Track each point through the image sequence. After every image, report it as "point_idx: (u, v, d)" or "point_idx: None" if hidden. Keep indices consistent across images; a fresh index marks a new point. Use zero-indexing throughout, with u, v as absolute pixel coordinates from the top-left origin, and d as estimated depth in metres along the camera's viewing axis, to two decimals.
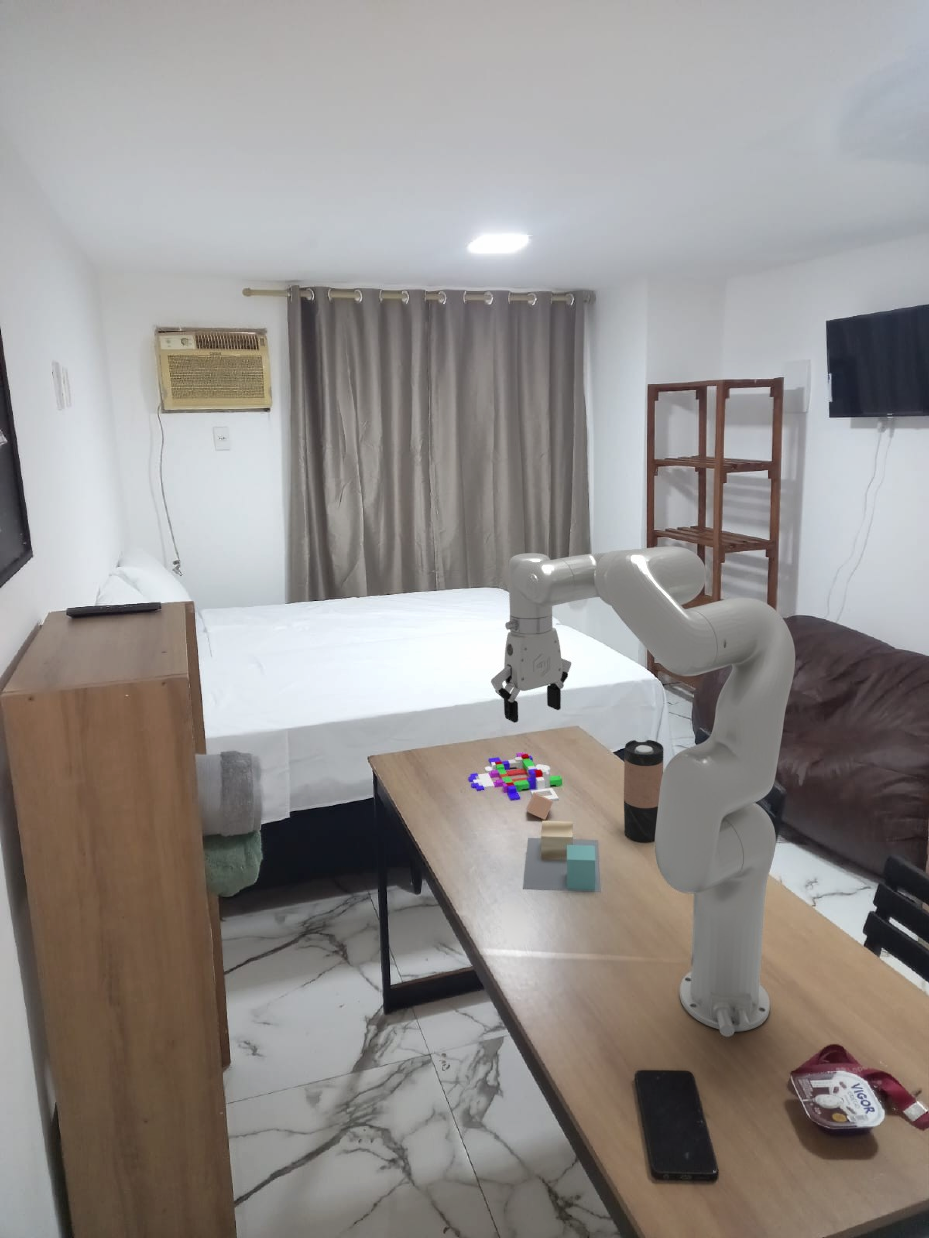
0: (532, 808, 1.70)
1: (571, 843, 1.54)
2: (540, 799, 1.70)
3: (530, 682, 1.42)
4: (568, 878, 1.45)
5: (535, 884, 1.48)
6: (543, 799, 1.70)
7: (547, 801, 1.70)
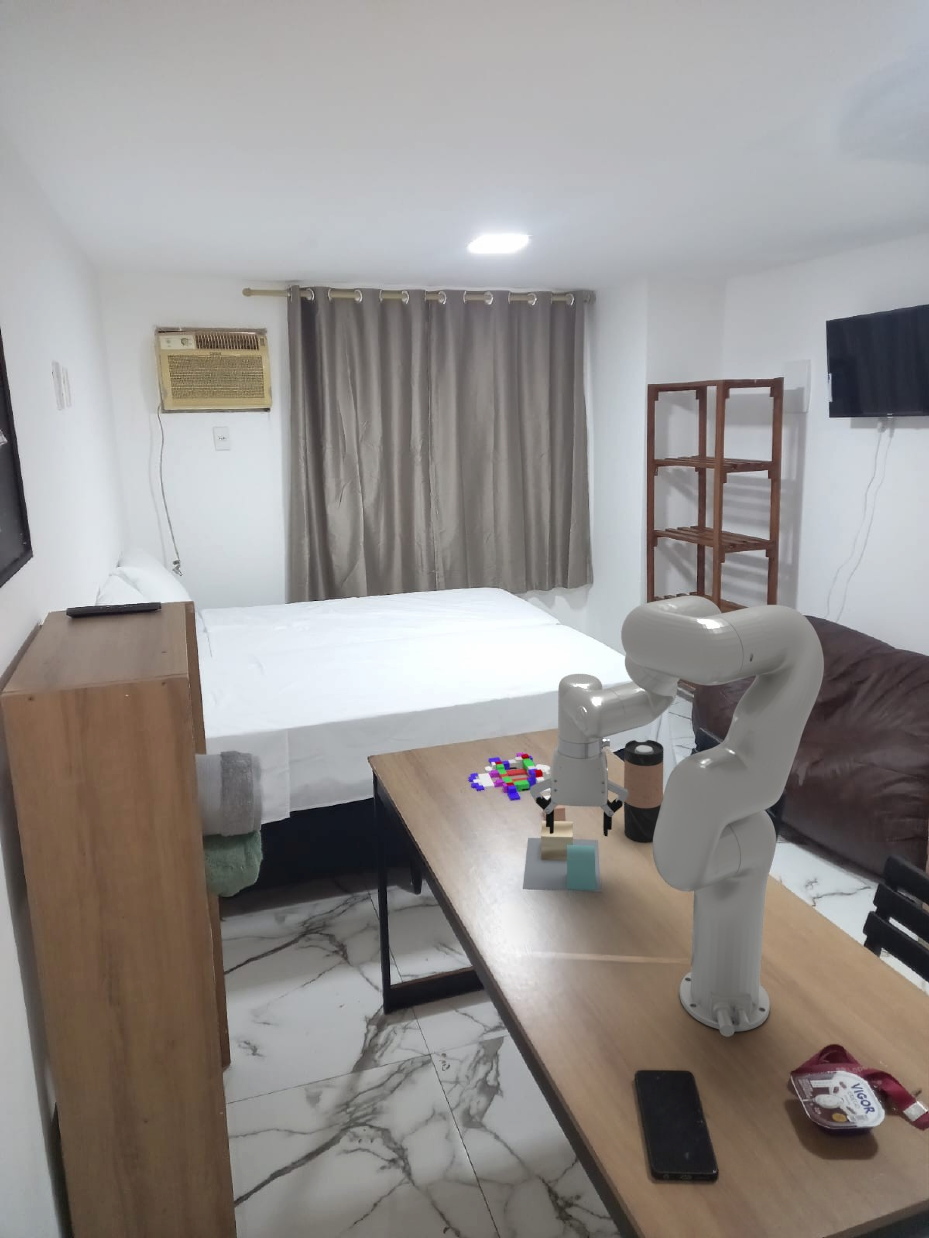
0: None
1: (571, 843, 1.54)
2: (562, 813, 1.70)
3: None
4: (568, 878, 1.45)
5: (535, 884, 1.48)
6: (563, 816, 1.70)
7: (563, 820, 1.70)
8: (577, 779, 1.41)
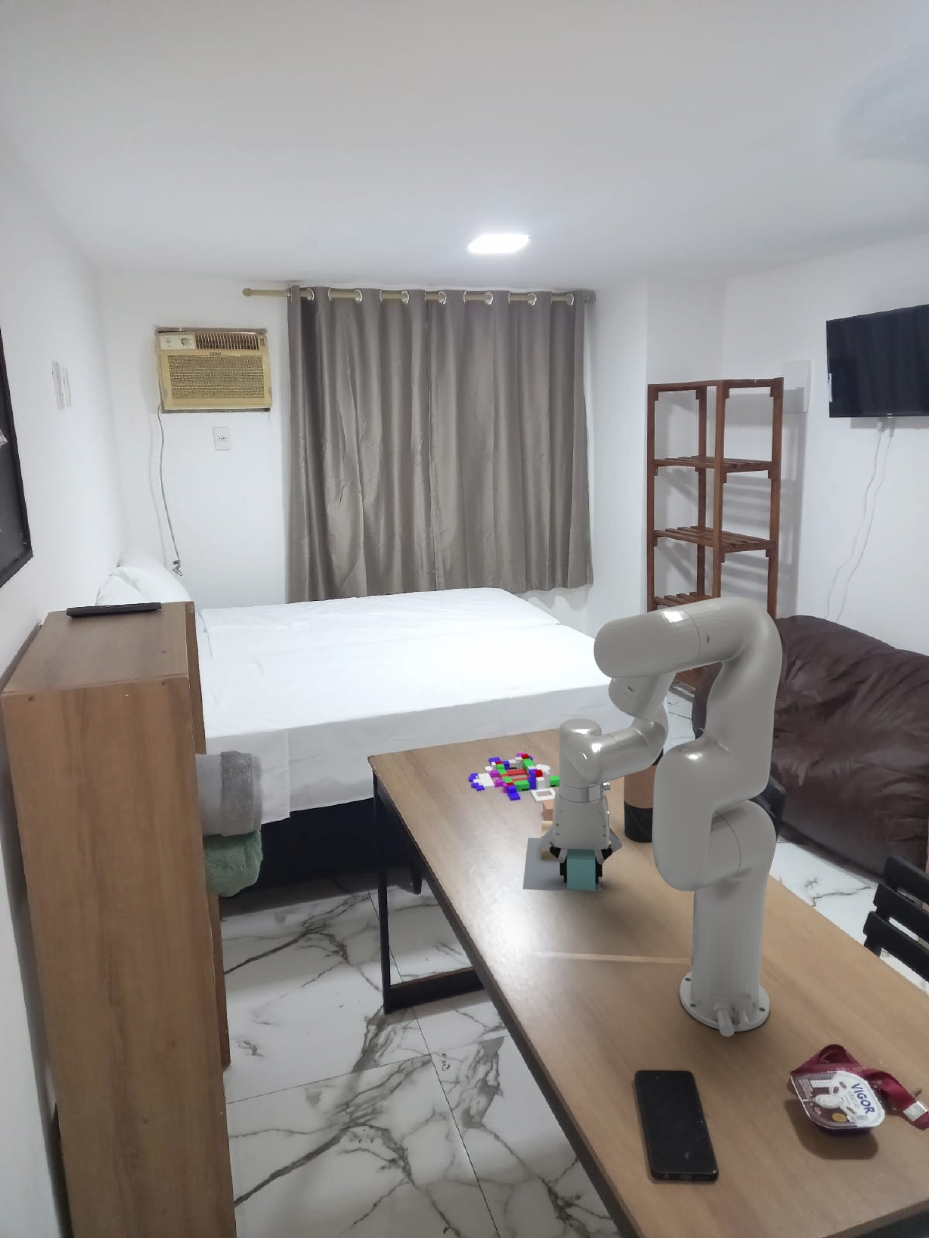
0: (551, 812, 1.69)
1: None
2: None
3: None
4: (568, 878, 1.45)
5: (535, 884, 1.48)
6: None
7: None
8: (578, 823, 1.42)
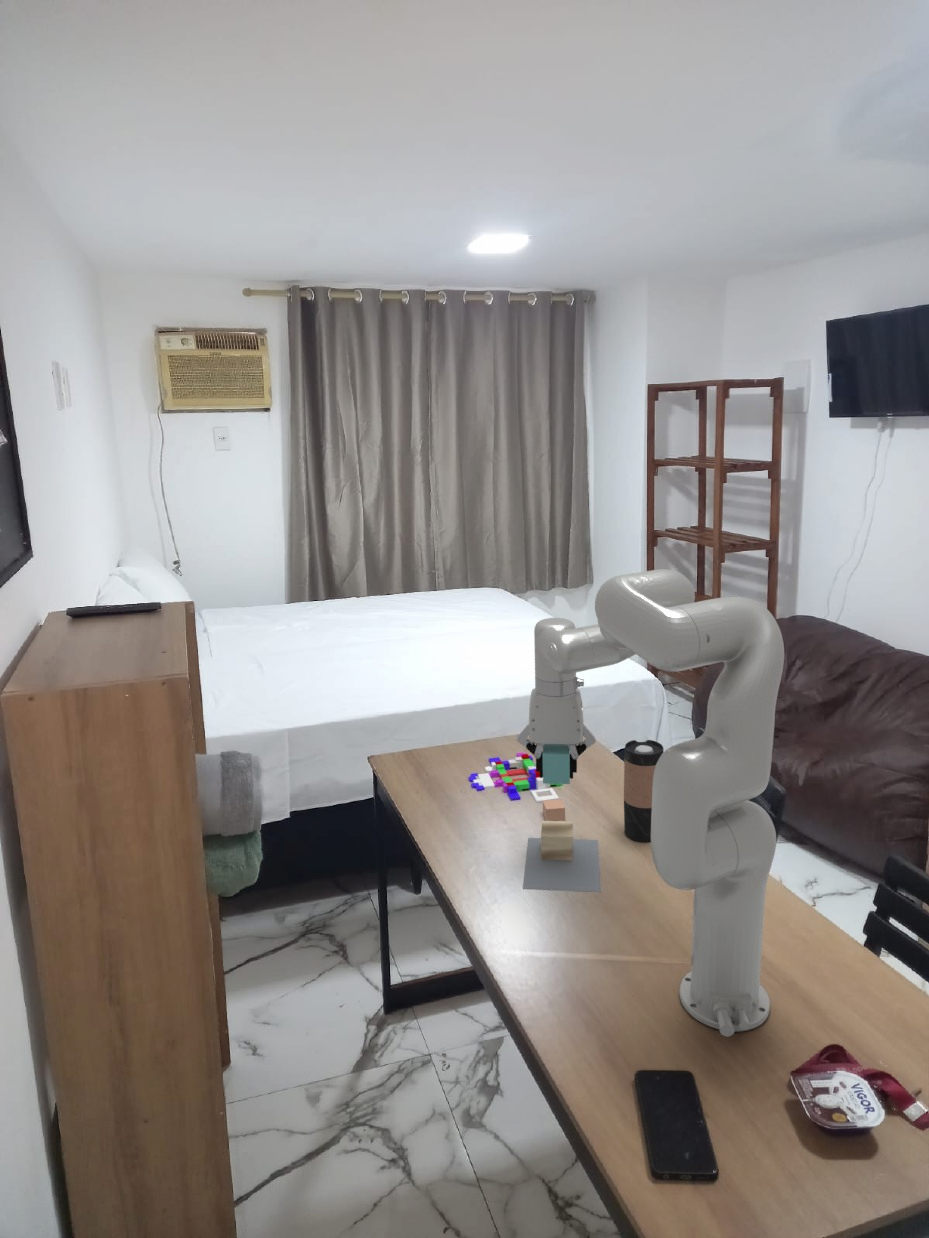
0: (551, 812, 1.69)
1: (571, 843, 1.54)
2: (562, 813, 1.70)
3: None
4: (544, 772, 1.51)
5: (535, 884, 1.48)
6: (563, 816, 1.70)
7: (563, 820, 1.70)
8: (553, 718, 1.48)
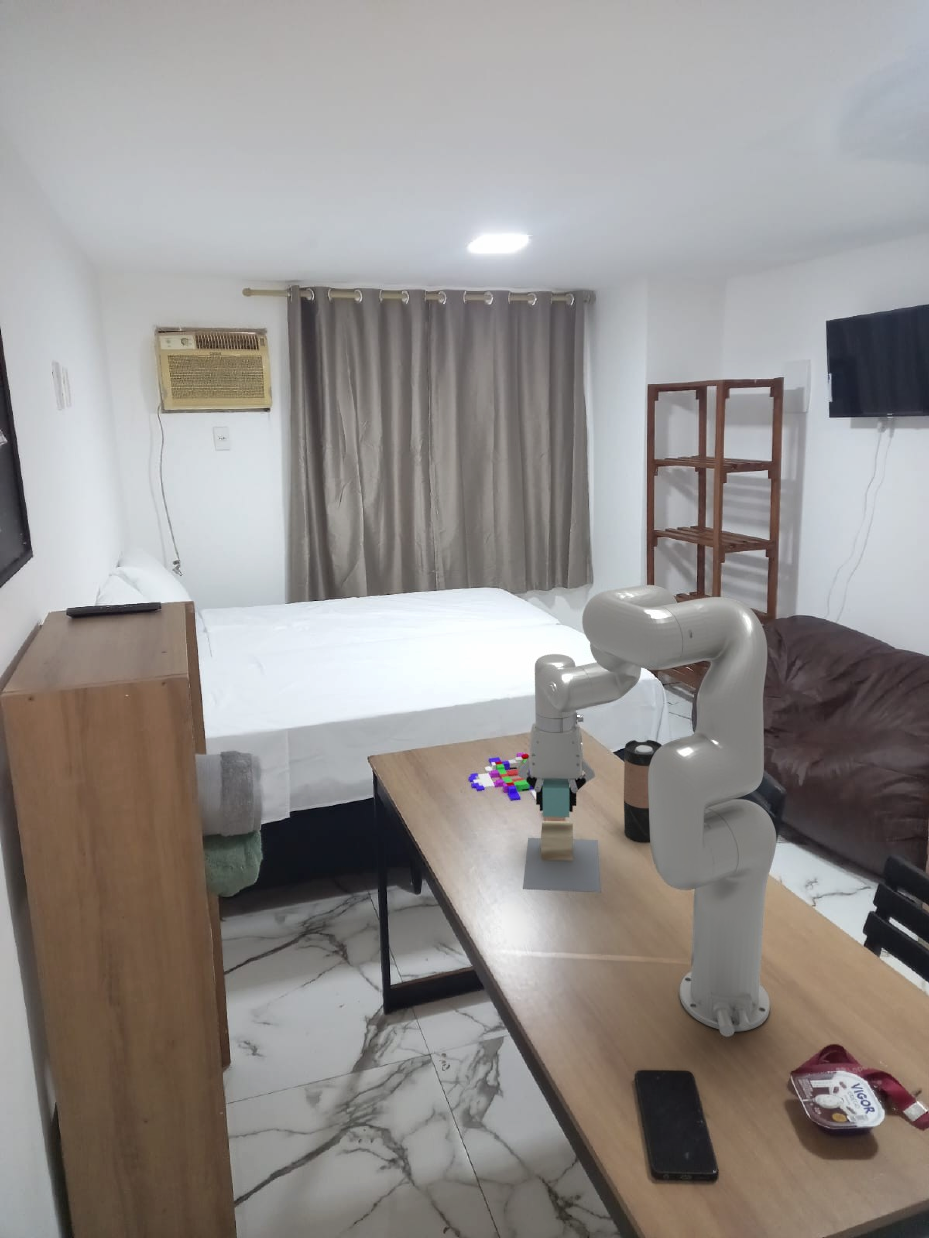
0: None
1: (571, 843, 1.54)
2: None
3: None
4: (544, 806, 1.53)
5: (535, 884, 1.48)
6: None
7: (563, 820, 1.70)
8: (553, 753, 1.50)
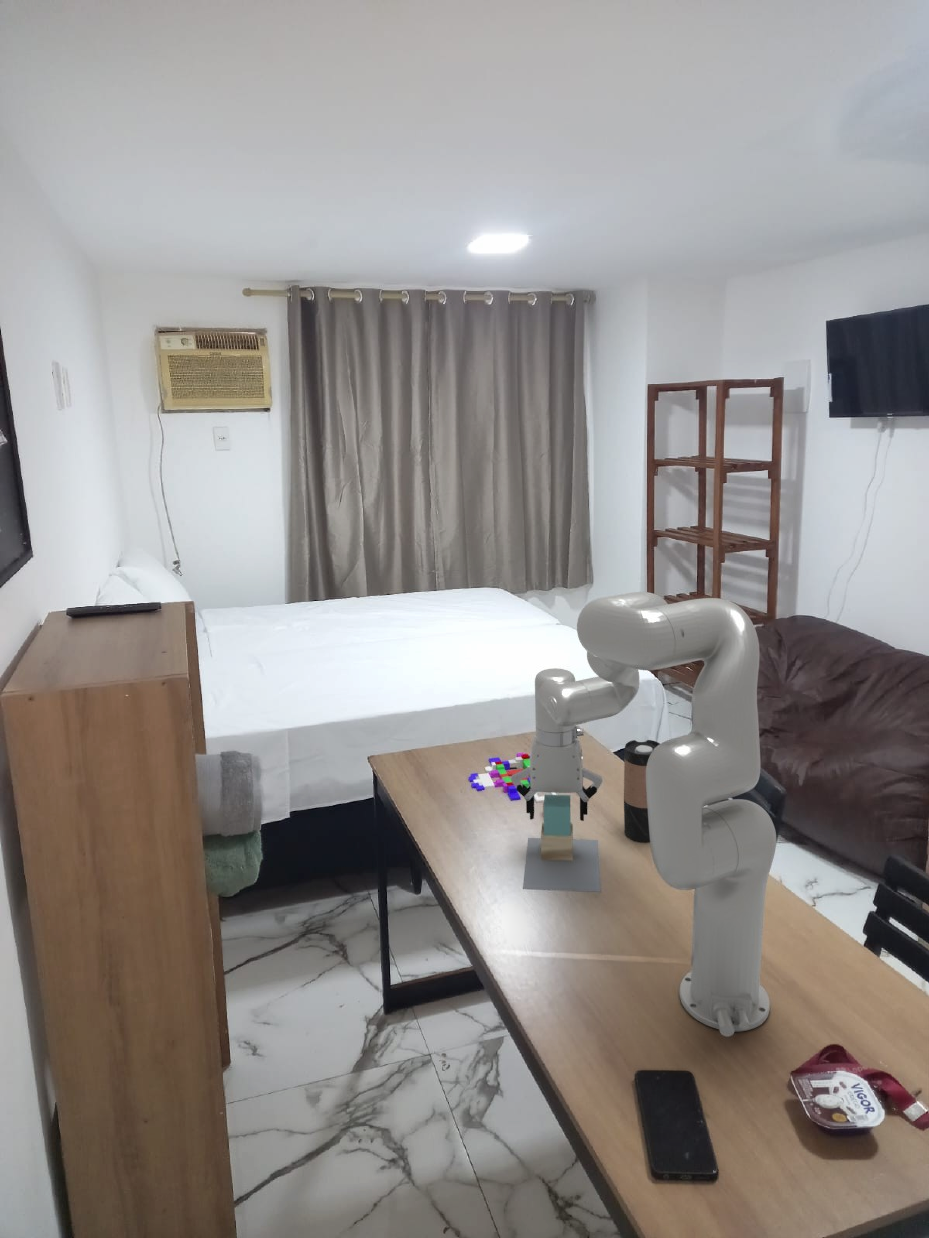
0: None
1: (571, 843, 1.54)
2: None
3: None
4: (545, 825, 1.54)
5: (535, 884, 1.48)
6: None
7: None
8: (553, 767, 1.51)
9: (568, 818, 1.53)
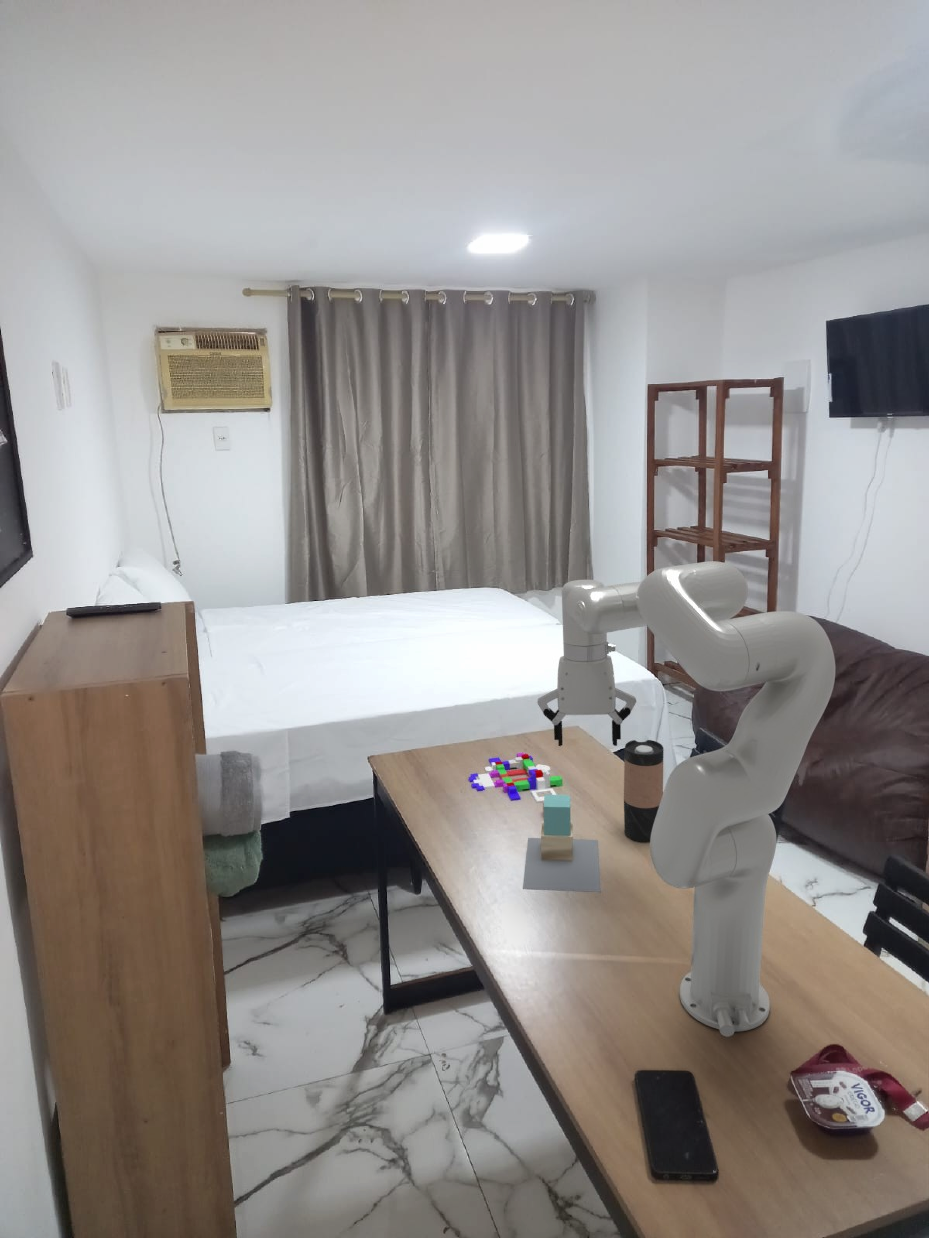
0: None
1: (571, 843, 1.54)
2: None
3: None
4: (545, 825, 1.54)
5: (535, 884, 1.48)
6: None
7: None
8: (584, 685, 1.40)
9: (568, 818, 1.53)
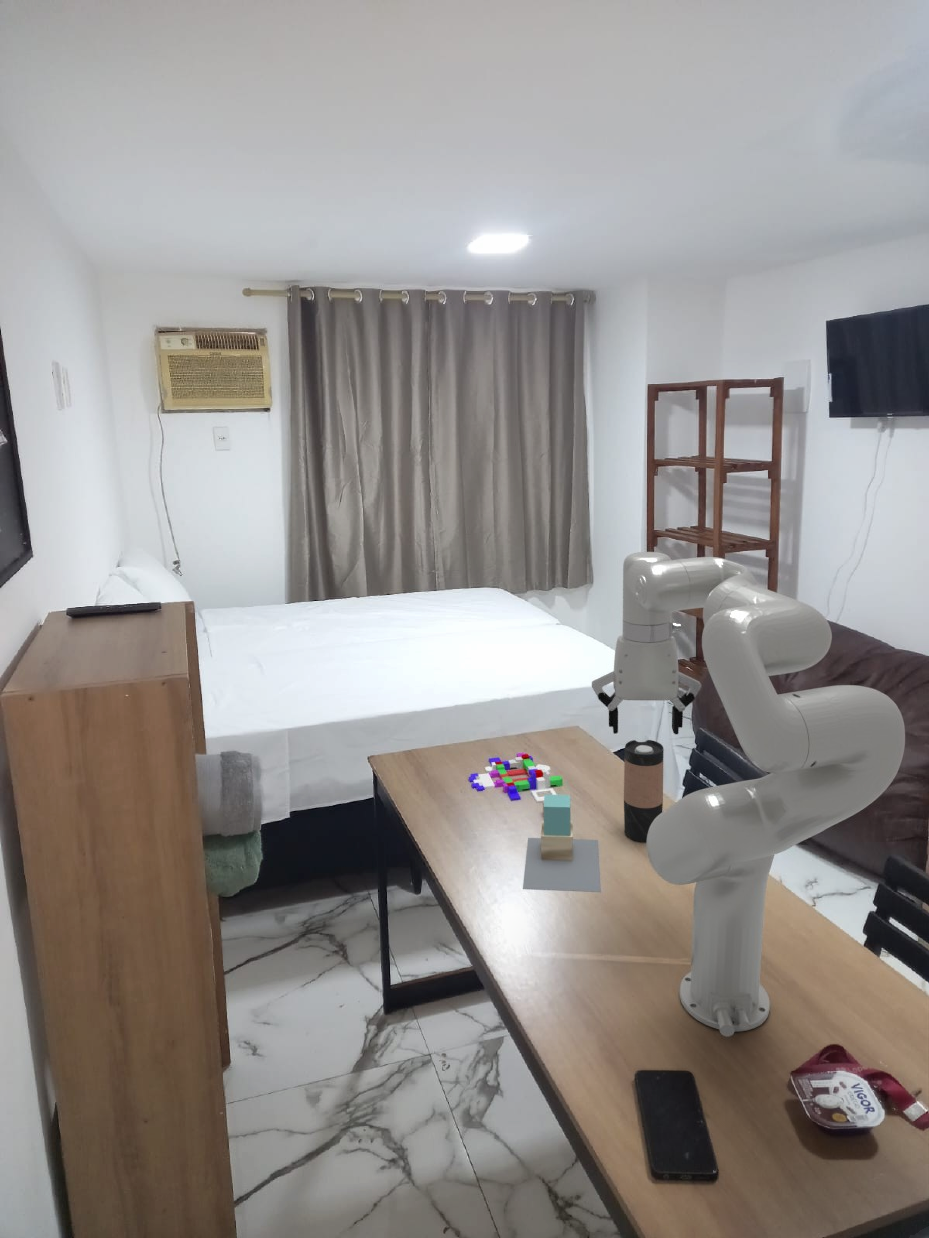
0: None
1: (571, 843, 1.54)
2: None
3: None
4: (545, 825, 1.54)
5: (535, 884, 1.48)
6: None
7: None
8: (645, 668, 1.27)
9: (568, 818, 1.53)
